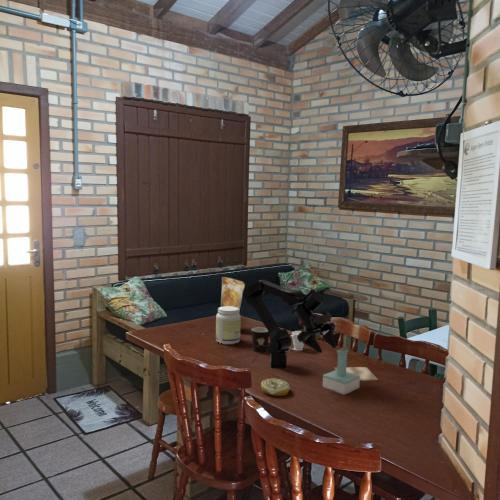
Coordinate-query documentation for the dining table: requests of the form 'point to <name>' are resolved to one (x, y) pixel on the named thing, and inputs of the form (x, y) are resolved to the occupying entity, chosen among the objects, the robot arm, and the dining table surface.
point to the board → (361, 373)
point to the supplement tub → (228, 325)
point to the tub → (341, 386)
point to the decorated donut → (275, 387)
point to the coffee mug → (260, 339)
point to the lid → (341, 370)
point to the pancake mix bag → (231, 292)
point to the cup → (297, 341)
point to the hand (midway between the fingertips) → (328, 350)
